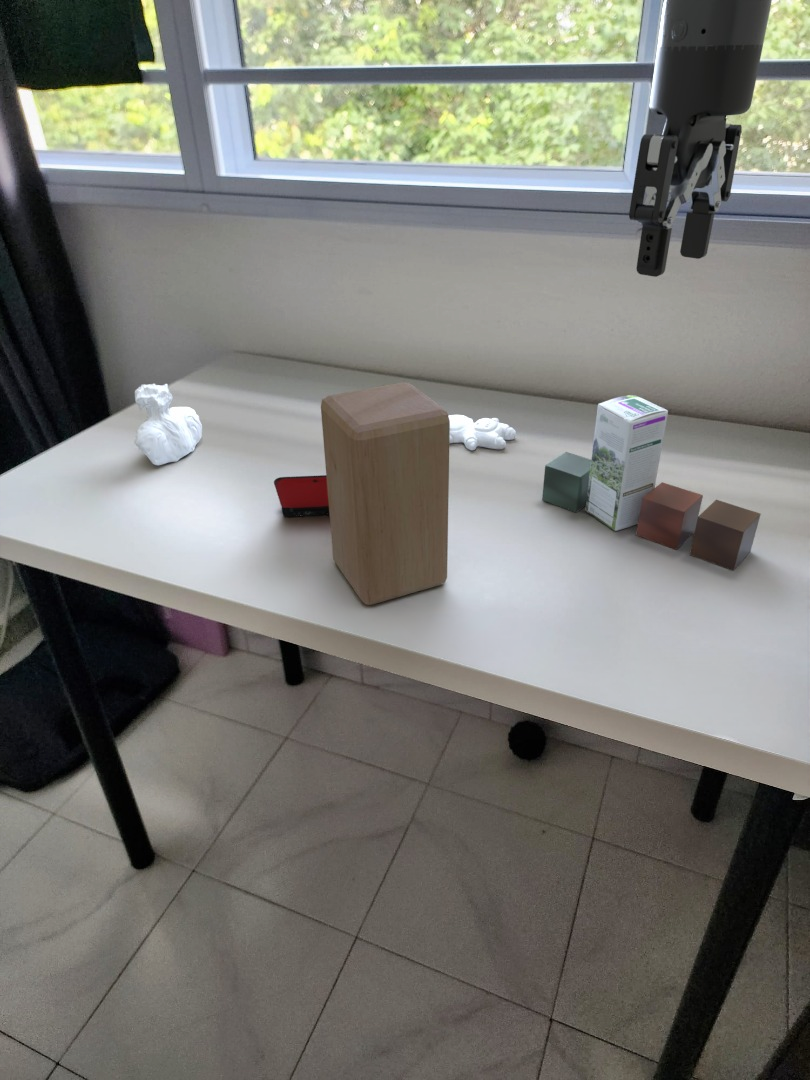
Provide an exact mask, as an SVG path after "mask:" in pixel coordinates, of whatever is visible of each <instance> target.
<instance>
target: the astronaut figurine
mask: <svg viewBox="0 0 810 1080" xmlns="http://www.w3.org/2000/svg"><path fill="white" fill-rule="evenodd" d="M448 416H449V419H450V441H449V445H450V444H457V443H458V444H459V443H463V444H464V446H465V448H466V449H467V450H469V451H475V450H476V449H477V448H478V447H480V448H487V449H491V450H503V449H504V448H505V447H506V444H507V443H506V440H507V441H513V440H515V439H516V436H517V431H516V430H515V429H514V427H510V425H509V424H507V423H502V422H500V419H499V418H497V417H492V418H488V417H483V418H480V419H478V420H476V421H475V422H474V420H473V418H470V417H469V416H466V415H463V414H451V415H450V414H449V415H448Z"/></svg>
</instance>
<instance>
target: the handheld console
mask: <svg viewBox="0 0 810 1080" xmlns="http://www.w3.org/2000/svg"><path fill="white" fill-rule="evenodd" d="M273 484H274V485H273V486H274V487H275V492H276V495H277V496H278V501H279V504H280V507H281V513H282V516H283V517H285V518H295V517H313V516H326V515H330V514H329V501H328V489H327V477H326V474H325V475H324V474H322V475H301V476H298V475H297V476H296V475H295V476H280V477H276V478H275V479H274V481H273Z"/></svg>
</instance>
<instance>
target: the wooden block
mask: <svg viewBox="0 0 810 1080" xmlns="http://www.w3.org/2000/svg"><path fill="white" fill-rule="evenodd" d="M320 415H321V427H322V439H323V450H324V451H323V452H324V462H325V463H324V465H325V475H326V477H327V489H328V501H329V514H328V515H329V523H330V536H331V537H330V539H331V549H332V559H333V561H334V563H335V564H336V566H337V567H338V569H339V570H340V571H341V573H342V574H343V576H344V578H345V579H346V580H347V582H348V583H349V584H350V586H351V587H352V589H353V591H355V593H356V595H357V596H358V598H359V599H360V601H361V602H362V603H363V604H365V605H367V606H368V605H370V606H372V605H376V604H379V603H384V602H386V601H390V600H393V599H397V598H399V597H403V596H407V595H410V594H413V593H417V592H421V591H424V590H427V589H431V588H434V587H438V586H441V585H443V584H444V583H446V581H447V579H448V551H449V550H448V547H449V546H448V545H449V498H450V497H449V494H450V493H449V492H450V491H449V490H450V489H449V488H450V444H449V441H450V419H449V416H450V415H449V414H448V411H447V410H446V409H445V408H443V407H442V406H441V405H439V404H438V403H437V402H435V401H434V400H433V399H432V398H430V397H429V396H428V395H426V394H425V393H424V392H422V391H421V390H419V389H418V388H417V387H416V386H414V385H413V384H412V383H409V382H405V381H401V382H397V383H389V384H386V385H385V384H384V385H380V386H374V387H369V388H364V389H358V390H351V391H346V392H341V393H336V394H335V393H334V394H330V395H327V396H324V397H323V398H321V403H320Z"/></svg>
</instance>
